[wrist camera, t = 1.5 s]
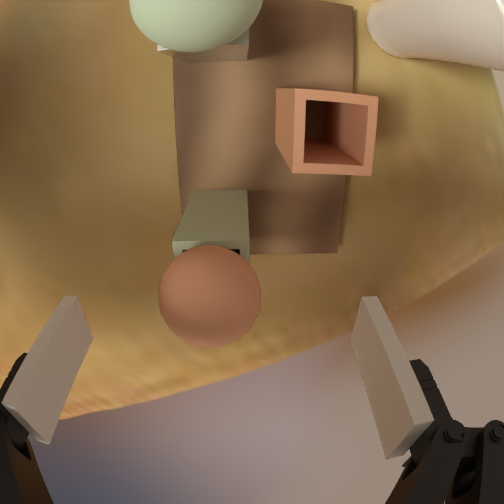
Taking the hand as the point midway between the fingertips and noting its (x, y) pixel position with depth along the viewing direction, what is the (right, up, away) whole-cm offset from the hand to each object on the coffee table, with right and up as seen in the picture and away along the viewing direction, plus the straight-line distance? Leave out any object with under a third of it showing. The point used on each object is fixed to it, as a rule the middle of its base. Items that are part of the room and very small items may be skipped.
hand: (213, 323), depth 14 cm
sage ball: (0, +14, -3) cm, 14 cm away
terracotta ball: (0, +2, +4) cm, 4 cm away
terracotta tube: (+5, +13, +7) cm, 15 cm away
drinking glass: (+13, +21, +4) cm, 24 cm away
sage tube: (-1, +6, +10) cm, 12 cm away
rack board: (+3, +12, +8) cm, 15 cm away
